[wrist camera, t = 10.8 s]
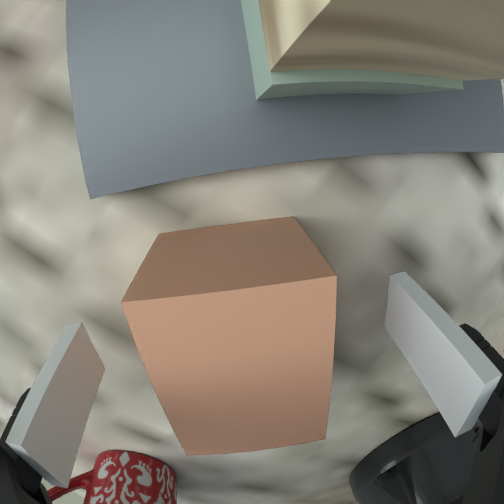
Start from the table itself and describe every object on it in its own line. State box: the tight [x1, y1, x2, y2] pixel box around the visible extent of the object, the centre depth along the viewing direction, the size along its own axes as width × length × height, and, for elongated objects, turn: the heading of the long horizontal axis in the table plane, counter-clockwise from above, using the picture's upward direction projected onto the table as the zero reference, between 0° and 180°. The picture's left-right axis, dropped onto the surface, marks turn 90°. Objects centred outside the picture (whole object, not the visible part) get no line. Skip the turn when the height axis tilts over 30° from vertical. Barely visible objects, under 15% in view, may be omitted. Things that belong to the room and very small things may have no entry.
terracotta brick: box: [121, 217, 337, 455], centre depth 13 cm, size 8×6×6 cm
